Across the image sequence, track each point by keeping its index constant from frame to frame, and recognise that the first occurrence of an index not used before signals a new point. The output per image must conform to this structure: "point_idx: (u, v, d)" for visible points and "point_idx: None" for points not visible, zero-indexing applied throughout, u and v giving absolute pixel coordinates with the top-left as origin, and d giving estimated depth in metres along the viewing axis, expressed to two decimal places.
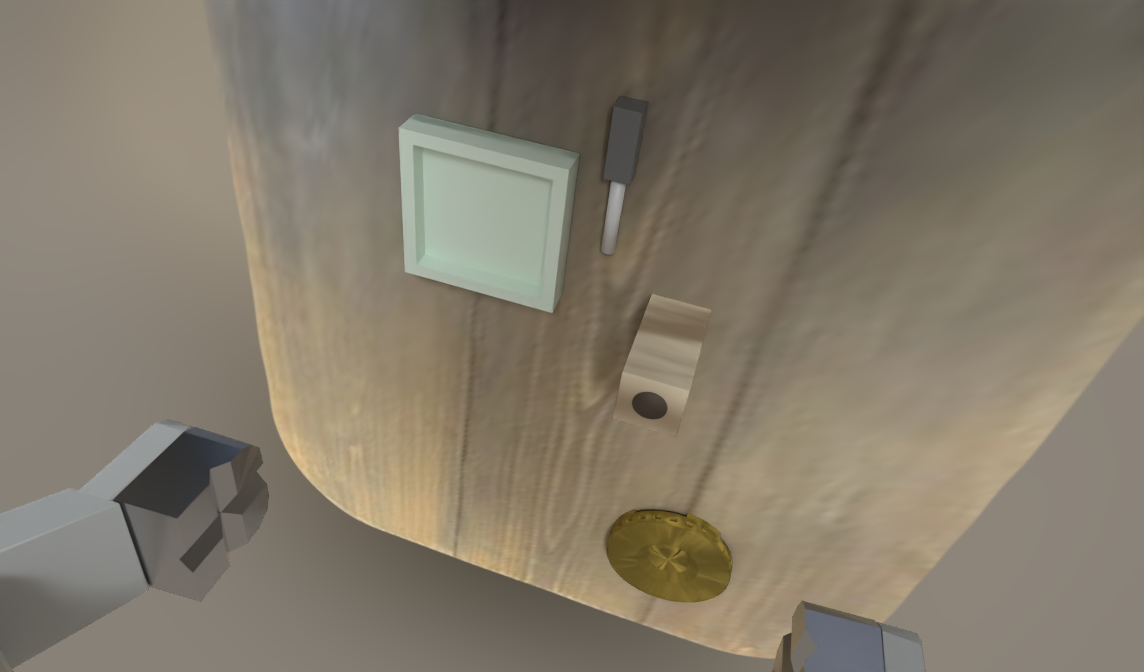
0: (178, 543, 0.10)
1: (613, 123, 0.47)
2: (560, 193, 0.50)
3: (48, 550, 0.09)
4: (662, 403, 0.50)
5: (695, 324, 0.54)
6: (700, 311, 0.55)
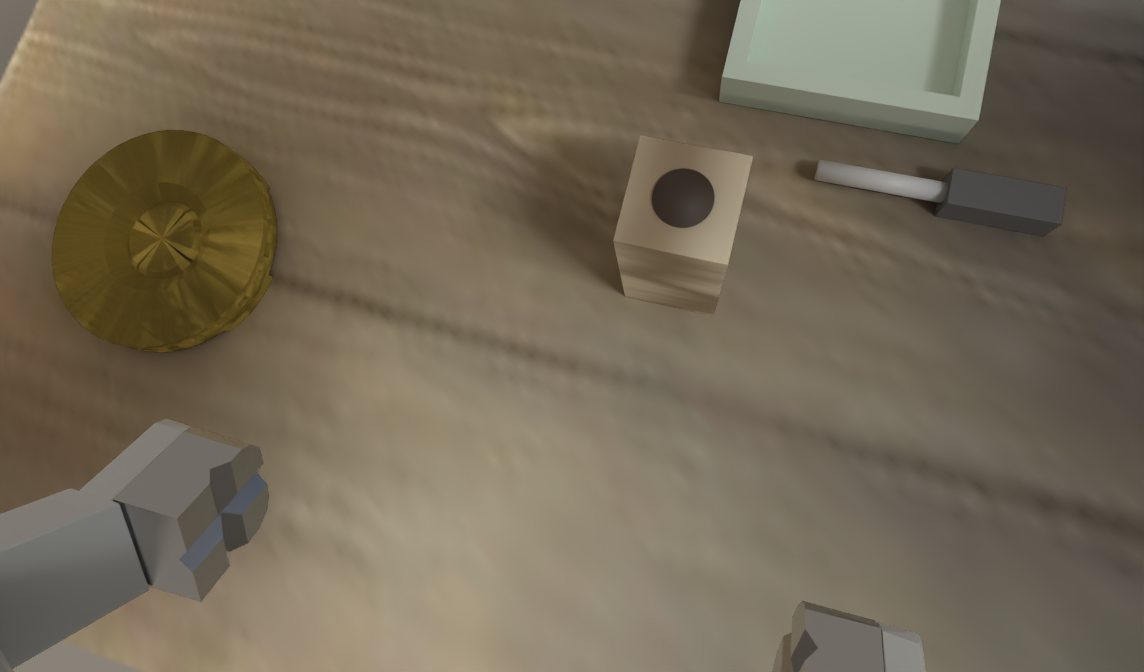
0: (177, 543, 0.10)
1: (1041, 186, 0.35)
2: (938, 105, 0.36)
3: (48, 550, 0.09)
4: (693, 219, 0.29)
5: None
6: None
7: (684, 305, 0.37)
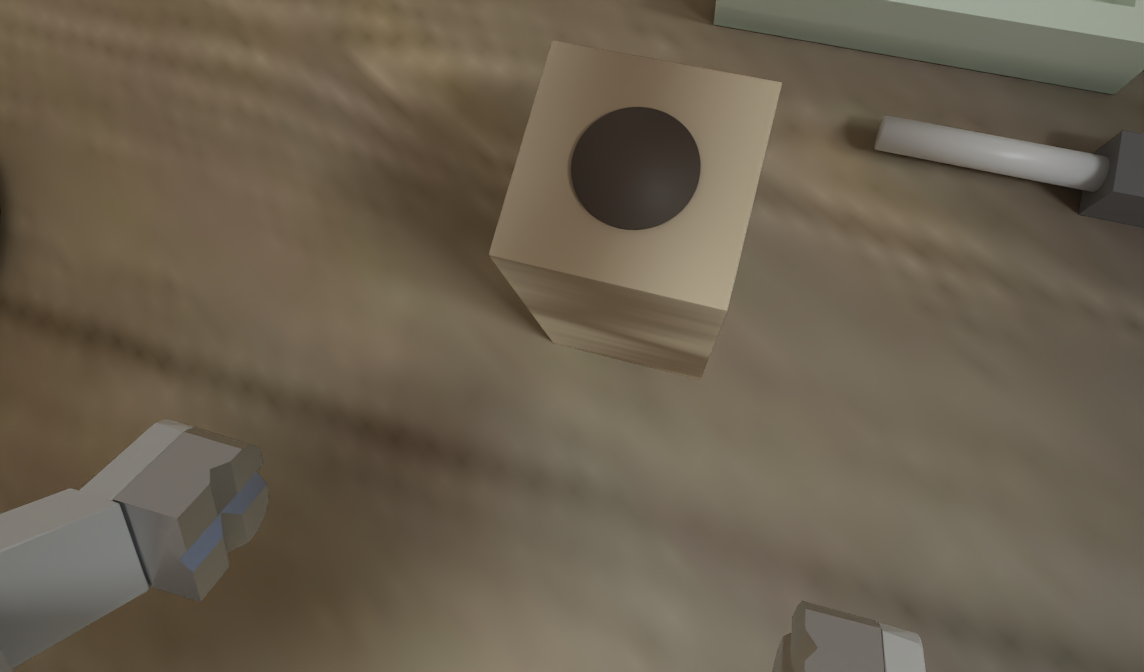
0: (177, 544, 0.10)
1: None
2: (1097, 22, 0.20)
3: (48, 550, 0.09)
4: (655, 213, 0.14)
5: None
6: None
7: (650, 362, 0.22)
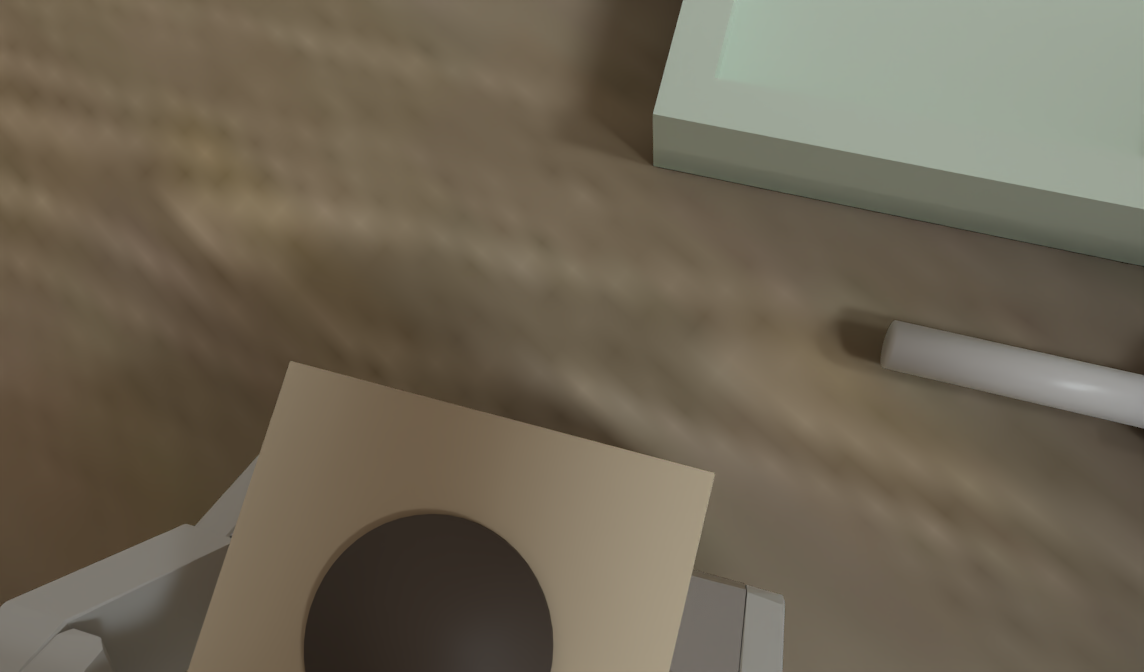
0: None
1: None
2: None
3: (169, 590, 0.09)
4: None
5: None
6: None
7: None
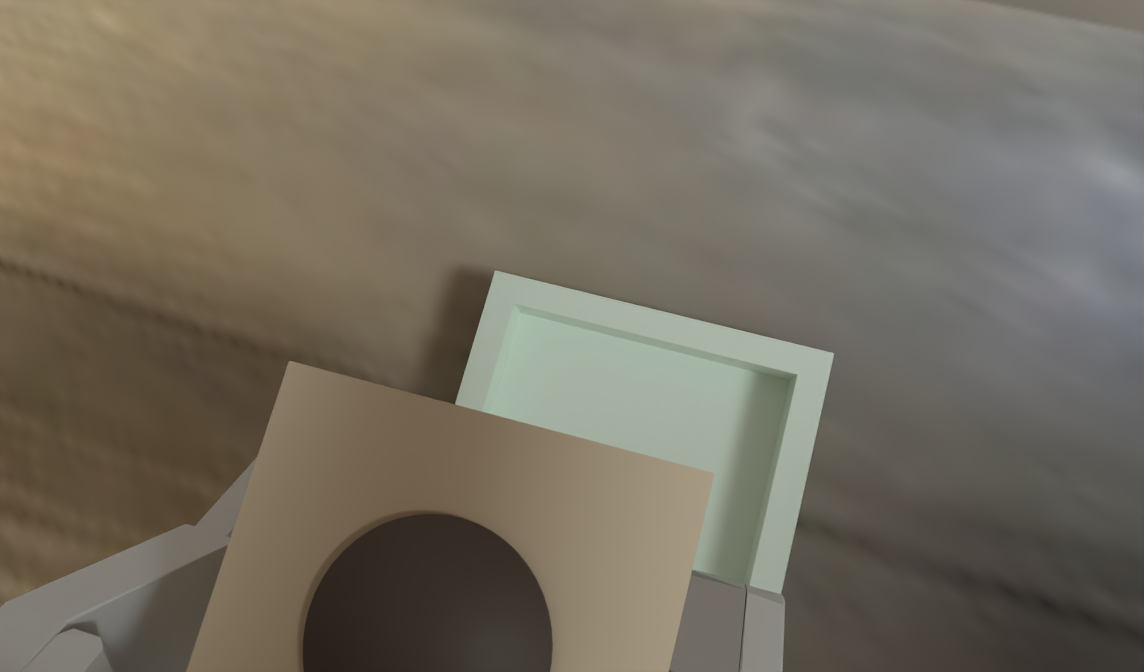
0: None
1: None
2: None
3: (170, 590, 0.09)
4: None
5: None
6: None
7: None
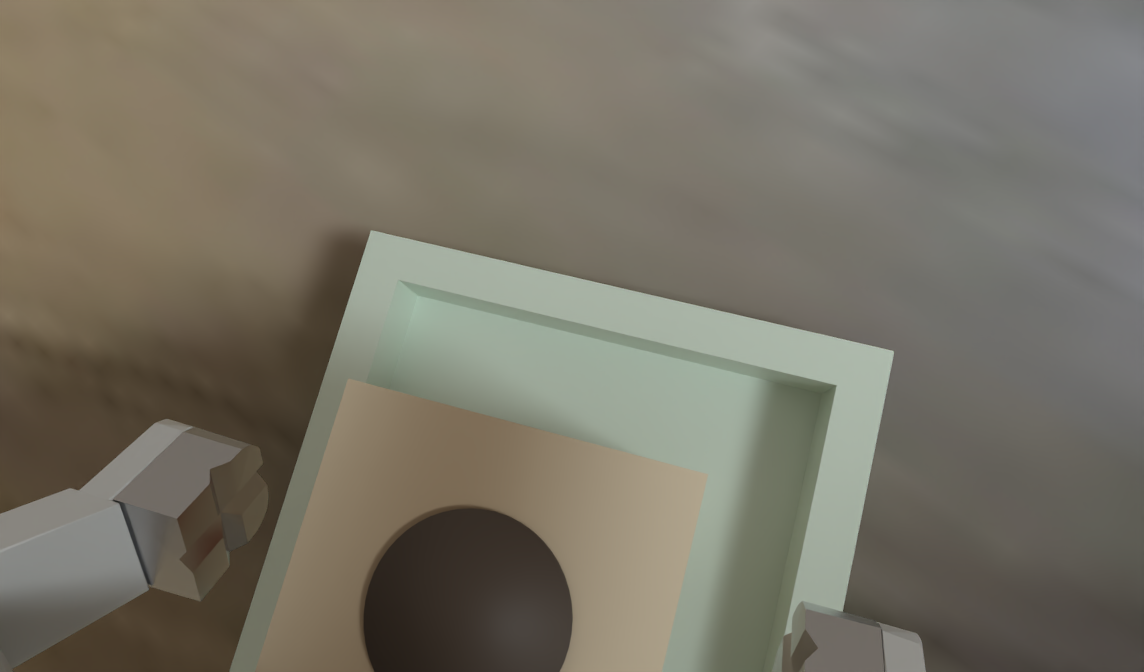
0: (177, 544, 0.10)
1: None
2: None
3: (48, 550, 0.09)
4: None
5: None
6: None
7: None
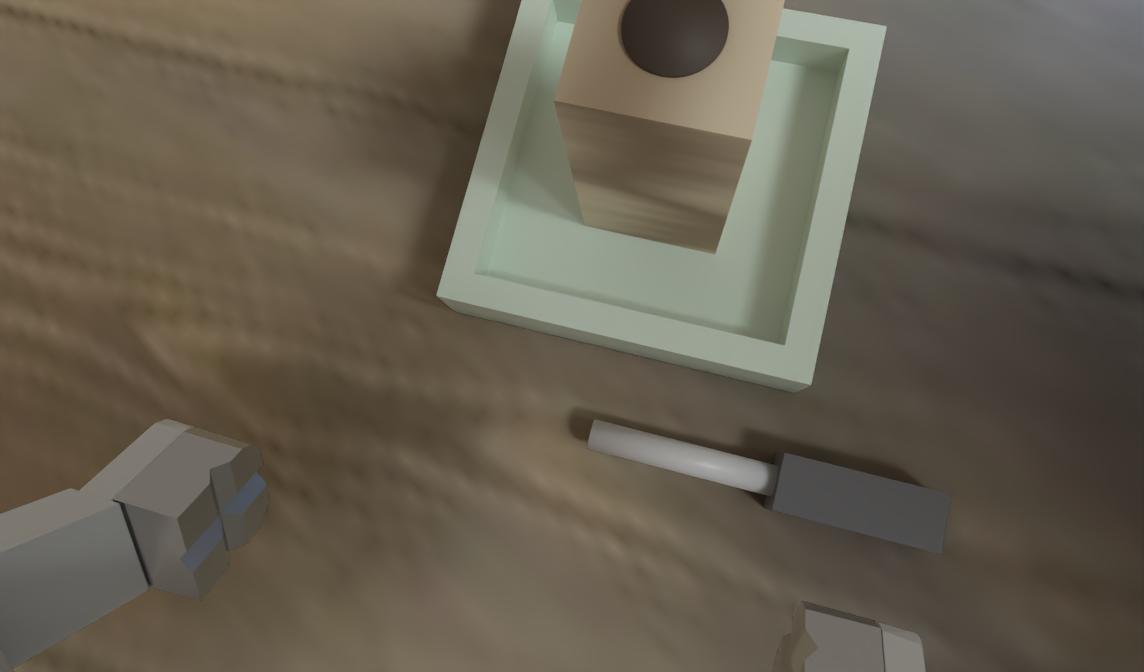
0: (178, 543, 0.10)
1: (913, 489, 0.23)
2: (752, 358, 0.23)
3: (48, 550, 0.09)
4: (691, 63, 0.17)
5: None
6: None
7: (672, 236, 0.25)
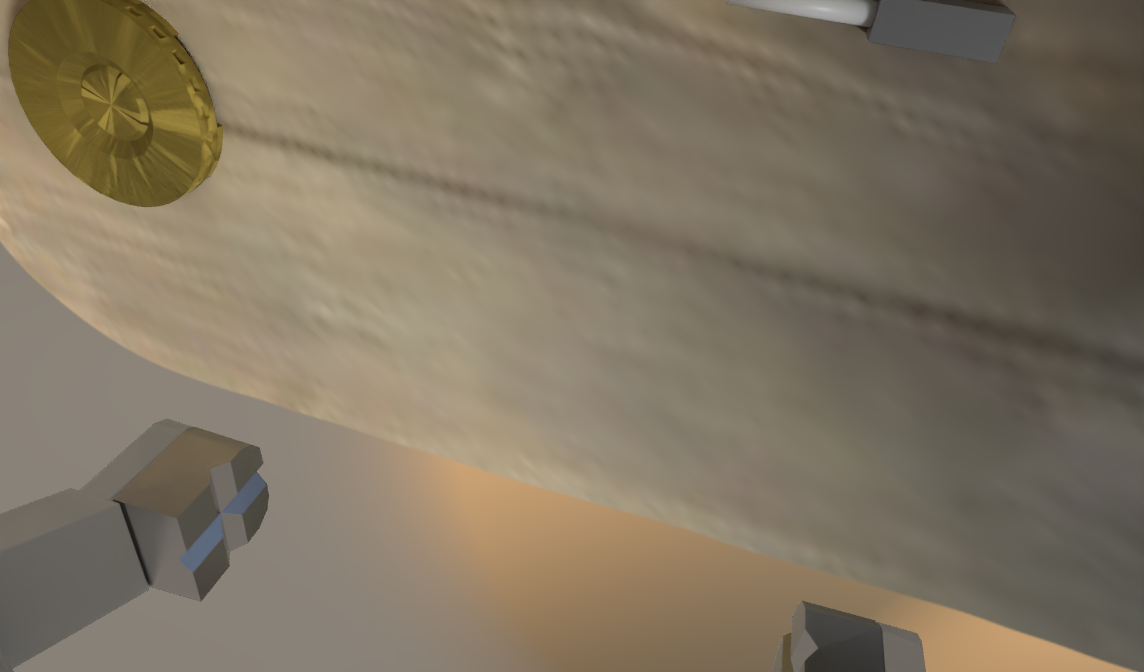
0: (177, 544, 0.10)
1: (985, 14, 0.29)
2: None
3: (48, 550, 0.09)
4: None
5: None
6: None
7: None
